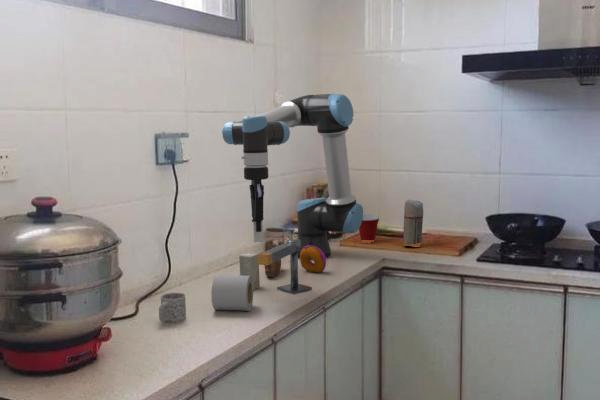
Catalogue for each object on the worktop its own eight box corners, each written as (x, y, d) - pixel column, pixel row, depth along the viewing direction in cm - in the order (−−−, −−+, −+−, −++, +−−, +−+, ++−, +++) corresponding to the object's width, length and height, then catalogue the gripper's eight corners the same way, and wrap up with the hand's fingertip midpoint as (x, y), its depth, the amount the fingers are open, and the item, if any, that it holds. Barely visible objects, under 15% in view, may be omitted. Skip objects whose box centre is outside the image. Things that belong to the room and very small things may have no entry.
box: (260, 287, 210) (259, 254, 209) (252, 290, 207) (251, 256, 205) (247, 285, 213) (247, 252, 212) (239, 287, 210) (238, 254, 208)
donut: (317, 268, 235) (317, 242, 234) (328, 274, 227) (328, 246, 226) (297, 270, 232) (297, 243, 231) (307, 276, 224) (307, 248, 223)
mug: (170, 314, 182) (169, 291, 181) (190, 317, 180) (189, 294, 179) (149, 325, 173) (148, 301, 172) (170, 327, 170) (170, 303, 169)
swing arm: (290, 248, 208) (290, 238, 208) (303, 249, 206) (302, 239, 206) (255, 264, 186) (255, 253, 186) (269, 265, 184) (269, 254, 184)
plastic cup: (352, 244, 280) (352, 217, 279) (358, 239, 290) (358, 213, 289) (377, 245, 277) (377, 218, 275) (382, 240, 287) (382, 214, 285)
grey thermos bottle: (411, 243, 280) (411, 198, 277) (426, 246, 273) (427, 200, 271) (398, 246, 274) (398, 200, 272) (413, 249, 268) (414, 202, 266)
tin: (272, 279, 220) (271, 255, 219) (263, 279, 221) (262, 255, 220) (282, 269, 235) (281, 247, 234) (273, 269, 235) (273, 246, 234)
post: (295, 284, 213) (295, 248, 211) (311, 289, 207) (311, 251, 205) (277, 289, 207) (276, 251, 206) (293, 294, 201) (292, 255, 200)
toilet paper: (212, 314, 182) (210, 279, 181) (221, 304, 192) (220, 271, 191) (246, 315, 181) (245, 280, 179) (253, 304, 191) (253, 272, 189)
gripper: (241, 165, 202) (243, 238, 206) (246, 168, 190) (249, 246, 193) (264, 164, 204) (266, 236, 207) (271, 167, 191) (273, 244, 195)
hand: (258, 241), depth 200 cm, fingers closed
